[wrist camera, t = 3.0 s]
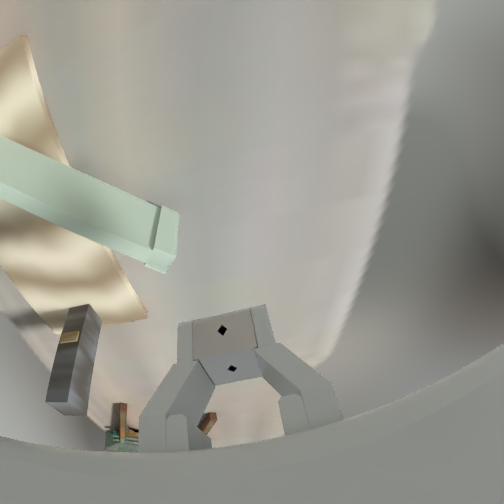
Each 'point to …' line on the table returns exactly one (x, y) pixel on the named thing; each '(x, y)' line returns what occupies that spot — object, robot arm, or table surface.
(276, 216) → the table surface
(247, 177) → the table surface
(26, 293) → the base
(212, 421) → the miniature gate
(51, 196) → the gate panel
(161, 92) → the table surface
